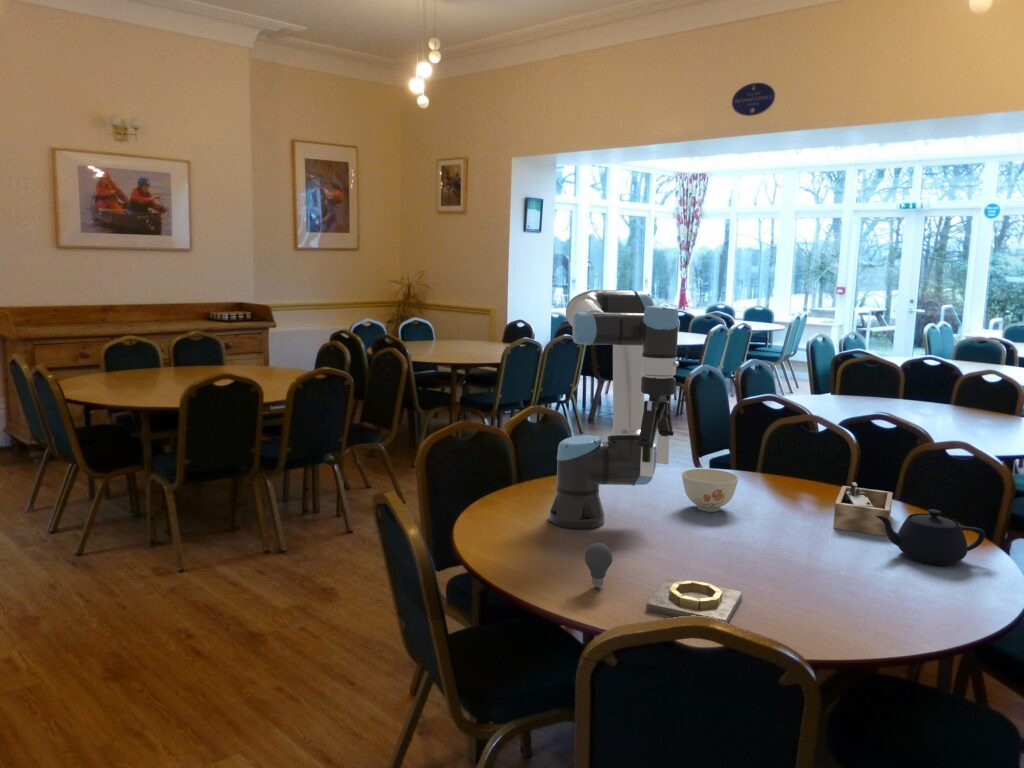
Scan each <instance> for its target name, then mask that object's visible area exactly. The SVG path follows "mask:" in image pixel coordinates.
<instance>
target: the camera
mask: <svg viewBox="0 0 1024 768" xmlns="http://www.w3.org/2000/svg"><path fill="white" fill-rule="evenodd" d="M850 487H851V488H850V492H846V496H845V501H844V503H845V504H852V505H860V506H867V507H874V506H873V505H872V504H871V502H870V501H869V499H868V497H866V494H865V493H860V490H859V488H860V487H858V484H857V482H855V481H854V482H852V481H851V483H850ZM855 488H857V489H856V491H855ZM874 508H875V507H874Z"/></svg>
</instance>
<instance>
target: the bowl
mask: <svg viewBox="0 0 1024 768" xmlns="http://www.w3.org/2000/svg"><path fill="white" fill-rule="evenodd" d="M681 476H682V477H681V478H682V483H683V484H682V485H683V489H684V492H685V495H686V497H687V498H688V499H689V500H690V501H691V503H693V504H694V505H696V509H697V510H699V511H701V510H702V512H705V511H706V512H707V513H715V512H719V511H720V508H721V507H723V506H725V505H726V504H728V503H729V502H730V501H731V500H732V498H733V496H734V494H735V492H736V488H737V485H738V481H739V477H738V475H736V474H735V473H732V472H729V471H726V470H719V469H711V468H692V469H687V470H685V471H683V472H682V473H681Z"/></svg>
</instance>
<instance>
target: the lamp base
mask: <svg viewBox="0 0 1024 768" xmlns="http://www.w3.org/2000/svg"><path fill="white" fill-rule="evenodd" d="M742 598H743V591H741V590H735V589H731V588H725V587H721V586H715V585H713V584H711V583H709V582H708V583H707V582H702V581H696V580H684V579H681V578H680V579H678V578H674V577H670V576H669V577H668V578H667V579H666V580H665V581H664V583H663V584H662V585H661V586H660V587H659V588H658V589H657V591H656V592H655V593H654V594H653V595H652V596H651V598H650V599H649V600H648V601H647V602H646V609H645V610H646V611H648V612H652V613H656V614H662V615H667V616H670V617H675V616H691V615H696V616H706V617H711V618H715V619H718V620H721V621H724V622H727V624H728V623H729V622H730V620H731V618H732V616H733V615H734V613H735V611H736V609H737V607H738V606H739V604H740V602H741V601H742Z"/></svg>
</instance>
